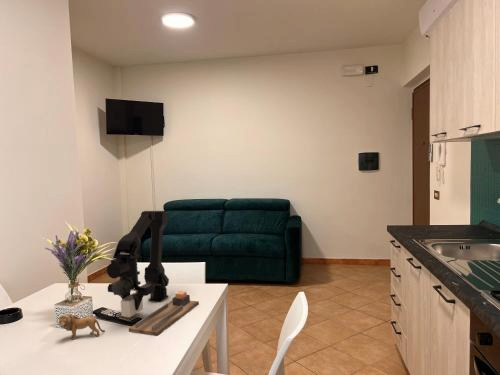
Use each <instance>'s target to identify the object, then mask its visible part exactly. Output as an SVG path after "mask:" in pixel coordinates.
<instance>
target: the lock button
mask: <svg viewBox="0 0 500 375" xmlns="http://www.w3.org/2000/svg"><path fill="white" fill-rule="evenodd" d="M187 293H188V292H187V291H182V290H179V291H177V292H176V293H175V294H174V297H175V298H180V299H183V298H185V297H186V296H187V295H188V294H187Z"/></svg>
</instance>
